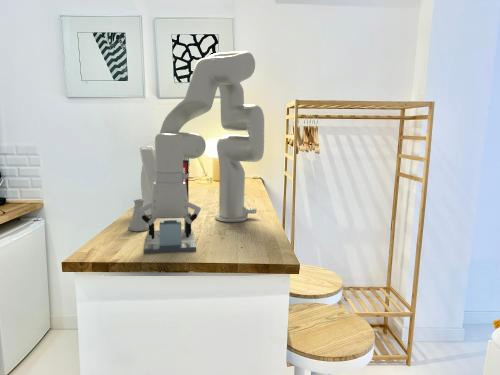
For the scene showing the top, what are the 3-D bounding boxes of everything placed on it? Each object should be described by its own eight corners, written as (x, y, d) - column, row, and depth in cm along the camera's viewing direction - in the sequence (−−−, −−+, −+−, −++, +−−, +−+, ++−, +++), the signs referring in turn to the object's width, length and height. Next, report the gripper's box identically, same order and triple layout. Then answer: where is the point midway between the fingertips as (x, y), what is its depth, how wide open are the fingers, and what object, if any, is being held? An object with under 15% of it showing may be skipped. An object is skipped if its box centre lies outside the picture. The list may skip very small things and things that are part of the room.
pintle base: (192, 232, 118) (192, 211, 117) (196, 251, 101) (196, 226, 100) (147, 234, 115) (147, 212, 114) (144, 253, 98) (143, 228, 97)
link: (181, 244, 102) (181, 224, 101) (159, 245, 101) (159, 225, 100) (179, 228, 119) (179, 210, 118) (160, 229, 117) (160, 211, 116)
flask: (142, 225, 126) (141, 196, 125) (155, 228, 122) (154, 199, 120) (124, 229, 121) (122, 199, 119) (136, 233, 116) (135, 203, 115)
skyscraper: (159, 210, 148) (158, 141, 144) (164, 214, 142) (163, 142, 137) (139, 212, 144) (137, 141, 140) (143, 216, 138) (141, 142, 133)
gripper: (199, 176, 106) (199, 232, 109) (138, 176, 103) (139, 234, 105) (201, 179, 99) (201, 239, 102) (136, 180, 95) (137, 242, 98)
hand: (170, 236), depth 104 cm, fingers open, 9 cm apart
